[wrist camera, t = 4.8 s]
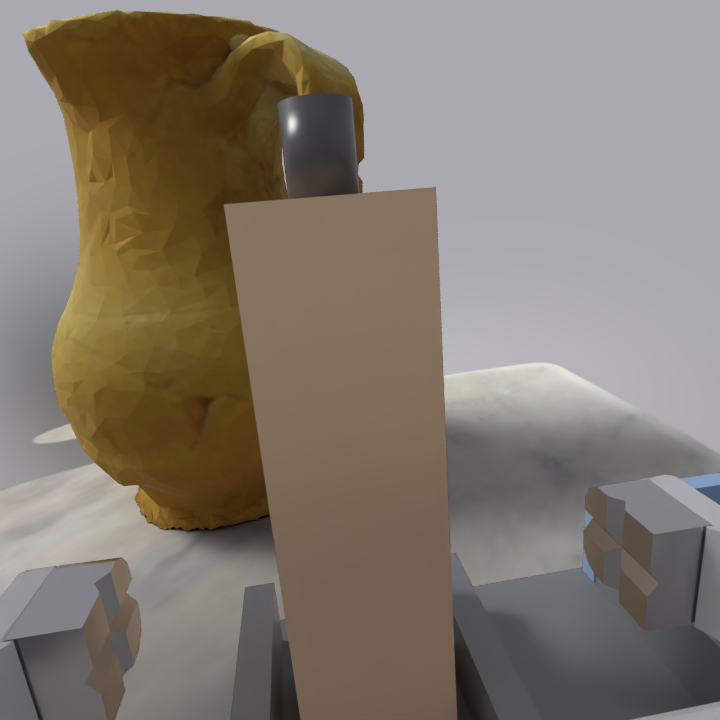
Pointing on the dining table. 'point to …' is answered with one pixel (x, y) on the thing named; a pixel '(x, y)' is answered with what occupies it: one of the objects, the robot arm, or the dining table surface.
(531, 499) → the dining table surface
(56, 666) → the robot arm
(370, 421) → the plug
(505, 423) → the dining table surface
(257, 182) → the pitcher
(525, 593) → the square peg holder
